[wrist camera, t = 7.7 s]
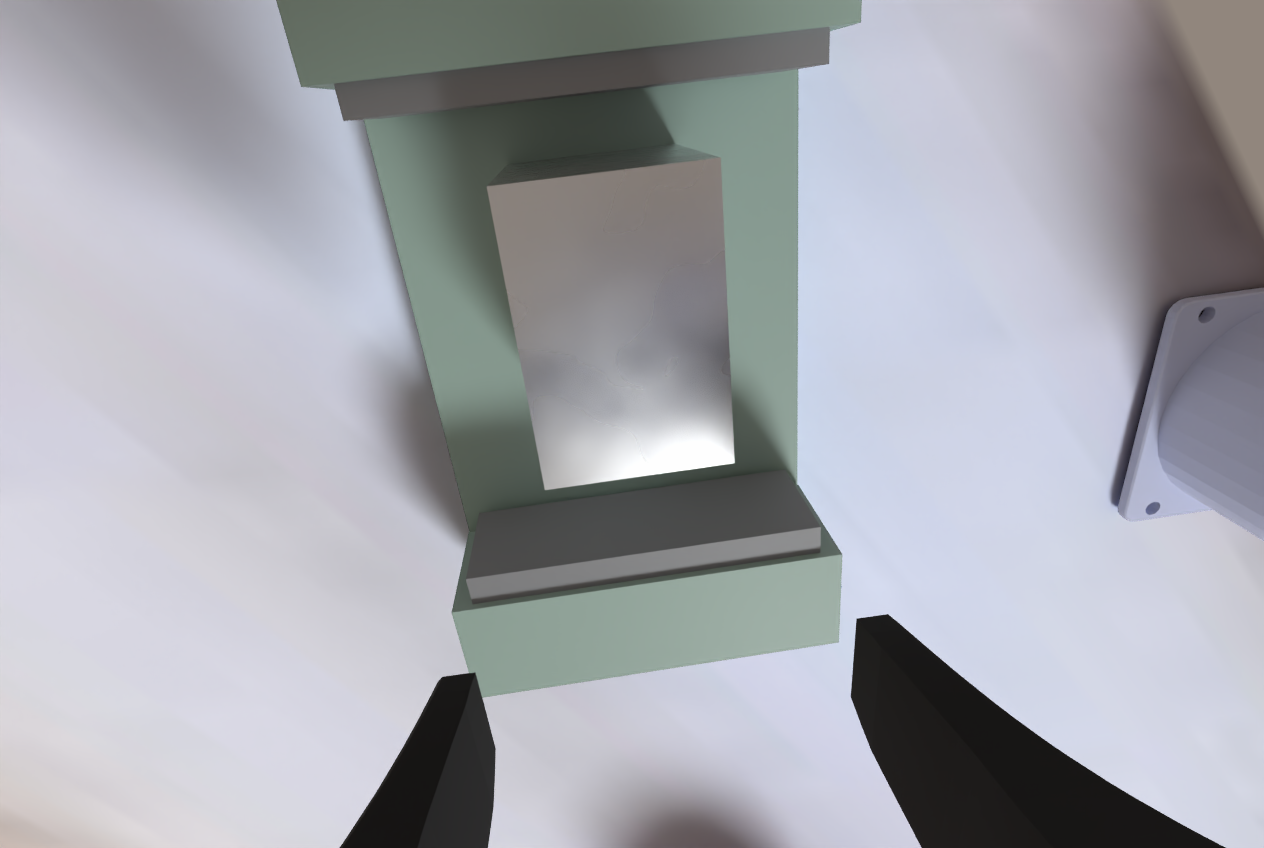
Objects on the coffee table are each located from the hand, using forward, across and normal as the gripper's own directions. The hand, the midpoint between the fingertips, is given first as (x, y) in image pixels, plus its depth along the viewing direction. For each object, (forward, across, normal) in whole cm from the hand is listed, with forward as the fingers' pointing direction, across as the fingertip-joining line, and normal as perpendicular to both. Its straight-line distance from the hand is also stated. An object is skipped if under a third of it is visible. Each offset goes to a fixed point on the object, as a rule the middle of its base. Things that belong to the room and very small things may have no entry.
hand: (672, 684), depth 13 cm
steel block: (+8, 0, -6) cm, 10 cm away
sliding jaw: (+8, 0, +2) cm, 8 cm away
